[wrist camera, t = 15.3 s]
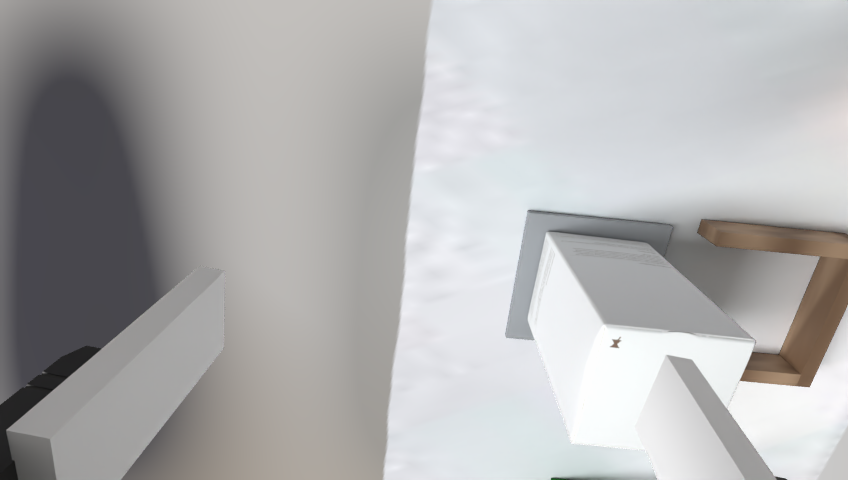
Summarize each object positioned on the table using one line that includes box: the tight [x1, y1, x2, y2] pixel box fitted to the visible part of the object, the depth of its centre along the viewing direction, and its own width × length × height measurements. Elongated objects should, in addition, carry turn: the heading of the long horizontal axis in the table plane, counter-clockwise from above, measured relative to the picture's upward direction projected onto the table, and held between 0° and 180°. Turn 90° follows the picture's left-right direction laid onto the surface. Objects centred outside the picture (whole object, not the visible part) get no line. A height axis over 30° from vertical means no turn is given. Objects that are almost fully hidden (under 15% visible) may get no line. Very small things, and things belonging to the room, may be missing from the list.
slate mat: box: [505, 211, 673, 340], centre depth 43 cm, size 12×12×1 cm
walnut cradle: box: [697, 219, 848, 387], centre depth 42 cm, size 12×13×3 cm
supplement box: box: [528, 232, 756, 451], centre depth 36 cm, size 9×9×15 cm
